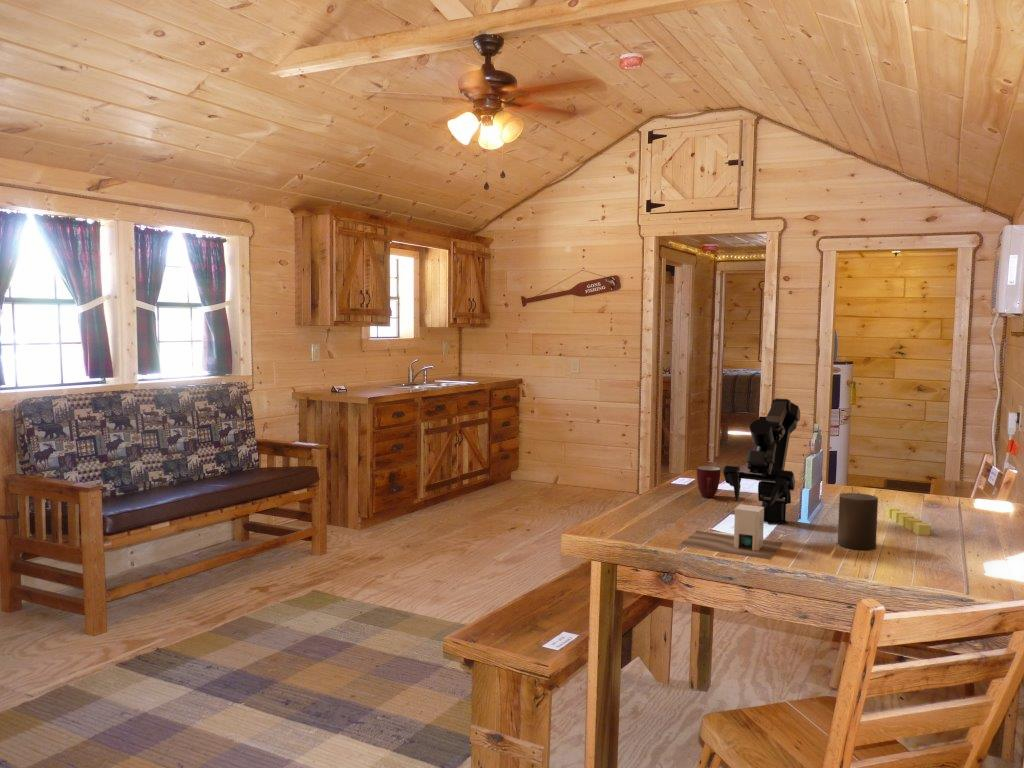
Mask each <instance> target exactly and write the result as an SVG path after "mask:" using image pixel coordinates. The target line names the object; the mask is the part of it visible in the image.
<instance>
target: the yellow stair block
mask: <svg viewBox="0 0 1024 768" xmlns="http://www.w3.org/2000/svg"><path fill="white" fill-rule="evenodd" d="M885 515H886V516H887V517H886V516H885ZM884 516H885V517H886V518H888V517H889V518H892V519H893V520H894V521H893V520H892V519H891V520H892V521H893V522H895V521H896V522H895V523H899V524H898V525H900V524H901V525H900V526H902V527H906V529H907V530H908V531H911V532H913V533H915V534H916V535H917V536H931V524H928V523H927V522H923V520H921V519H919V518H916V517H915V516H913V515H911V514H908V513H907V512H906V511H904V510H901V509H900V508H899V507H896V506H885V508H884ZM889 518H888V519H889Z"/></svg>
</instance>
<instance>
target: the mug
mask: <svg viewBox="0 0 1024 768" xmlns="http://www.w3.org/2000/svg"><path fill="white" fill-rule="evenodd" d="M720 479H721V468H720V467H717V466H709V465H707V466H706V465H705V466H698V467H696V481H697V487H698V488H697V489H698V491H699V493H700V495H701V497H703V498H710V499H712V498H714V497H715V495H716V493H717V492H718V490H719V484H720Z"/></svg>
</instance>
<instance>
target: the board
mask: <svg viewBox="0 0 1024 768" xmlns="http://www.w3.org/2000/svg"><path fill="white" fill-rule="evenodd" d="M783 544H784V542H780V541H773V540H768V539H767V540H766V539H763V546H762V547H761V548H760V549H759V550H755V551H753V550H752V546H750V547H747V546H745V545H744V544H743V543H741V544H740V545H739V548H736V547H734V535H729V534H723V533H716V532H709V531H708V532H707V531H701V530H696V531H695V532H693V533H692V534H691V535H689V536H688V537H687V538H686V539H684V540H683V541H682V542H681V543H679V544H678V545H677V546H678V547H683V548H688V549H689V548H691V549H697V550H702V551H703V550H704V551H710V552H715V553H716V552H717V553H724V554H729V555H730V554H731V555H737V556H744V557H750V558H758V559H763V560H772V558H773V556H774V555H775V554H776V553H777V552H778V550H779V549H780V548H781V547H782V546H783Z"/></svg>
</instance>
